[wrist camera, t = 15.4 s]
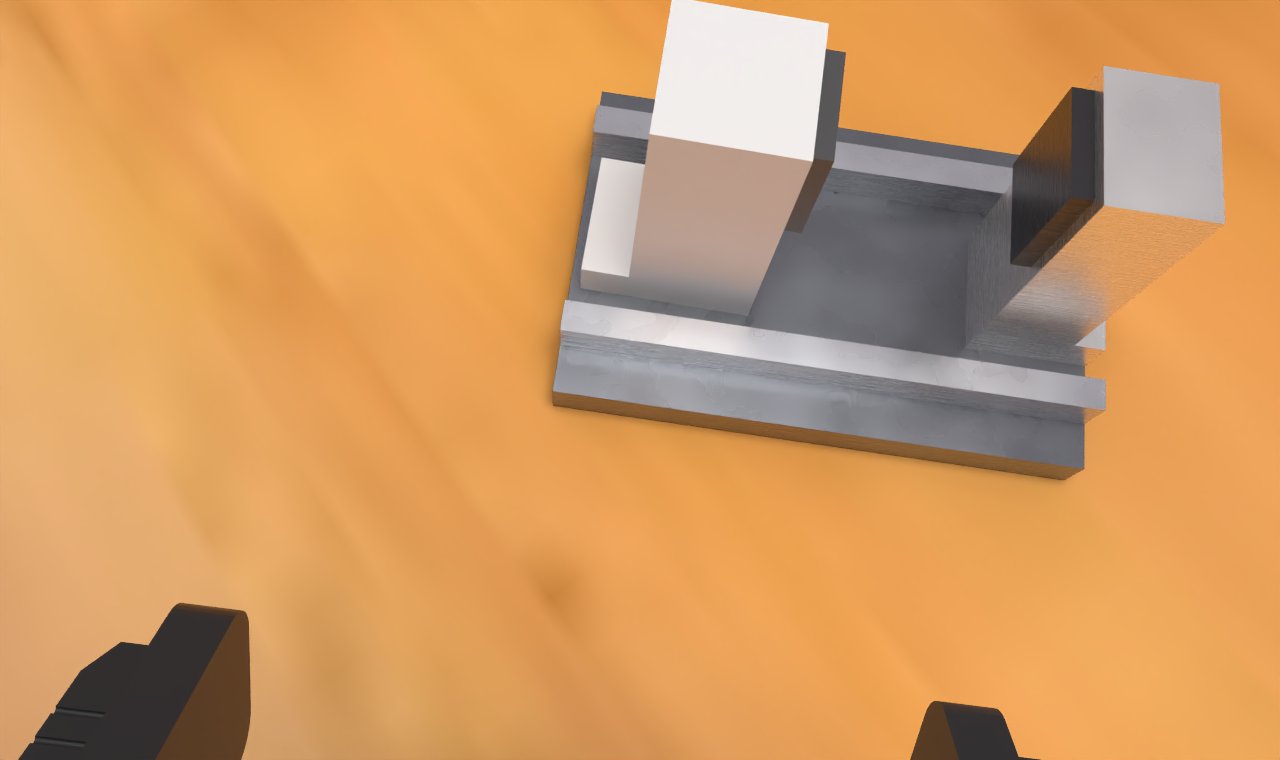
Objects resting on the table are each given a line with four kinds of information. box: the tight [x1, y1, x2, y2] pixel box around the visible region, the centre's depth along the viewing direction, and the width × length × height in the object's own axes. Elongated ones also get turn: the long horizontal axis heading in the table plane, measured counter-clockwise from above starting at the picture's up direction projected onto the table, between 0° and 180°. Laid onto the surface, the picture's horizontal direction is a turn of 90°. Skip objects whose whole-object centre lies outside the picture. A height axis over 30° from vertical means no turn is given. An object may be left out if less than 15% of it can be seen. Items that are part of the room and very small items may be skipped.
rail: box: [553, 66, 1225, 480], centre depth 33 cm, size 17×11×12 cm, turn 82°
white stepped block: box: [580, 0, 846, 316], centre depth 33 cm, size 6×4×10 cm, turn 82°
